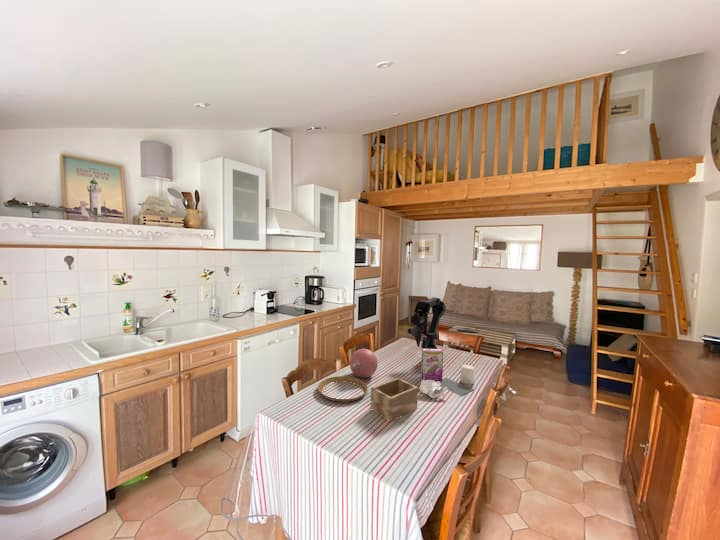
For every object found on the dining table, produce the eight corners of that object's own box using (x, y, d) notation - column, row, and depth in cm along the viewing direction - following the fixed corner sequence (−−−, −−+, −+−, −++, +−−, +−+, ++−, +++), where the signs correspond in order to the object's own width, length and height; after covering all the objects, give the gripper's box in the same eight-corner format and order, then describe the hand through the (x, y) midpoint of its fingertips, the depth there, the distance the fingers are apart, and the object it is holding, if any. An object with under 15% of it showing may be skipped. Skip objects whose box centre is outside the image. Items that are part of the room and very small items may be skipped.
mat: (427, 385, 156) (427, 385, 156) (445, 378, 166) (445, 377, 166) (456, 399, 143) (456, 398, 143) (474, 389, 153) (474, 389, 153)
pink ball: (338, 380, 159) (339, 352, 158) (359, 368, 176) (360, 343, 174) (363, 388, 150) (363, 359, 149) (382, 375, 167) (383, 348, 166)
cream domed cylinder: (457, 381, 163) (458, 366, 162) (464, 377, 167) (465, 363, 167) (469, 385, 158) (470, 371, 157) (476, 382, 162) (477, 367, 162)
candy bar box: (421, 380, 162) (422, 350, 161) (420, 377, 167) (421, 348, 166) (442, 381, 161) (443, 351, 160) (441, 378, 166) (441, 348, 165)
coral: (415, 381, 147) (434, 374, 151) (415, 392, 149) (434, 385, 153) (429, 396, 137) (450, 388, 141) (429, 408, 139) (450, 400, 143)
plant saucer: (374, 388, 152) (374, 382, 152) (354, 411, 130) (354, 403, 130) (333, 378, 162) (333, 372, 162) (307, 398, 140) (308, 391, 140)
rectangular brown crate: (370, 409, 131) (371, 387, 130) (397, 398, 142) (398, 377, 141) (390, 422, 122) (390, 398, 121) (417, 409, 133) (418, 387, 132)
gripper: (401, 320, 180) (400, 346, 181) (427, 327, 165) (425, 354, 166) (414, 318, 187) (413, 342, 188) (439, 324, 172) (437, 351, 173)
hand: (421, 347), depth 179 cm, fingers open, 5 cm apart
